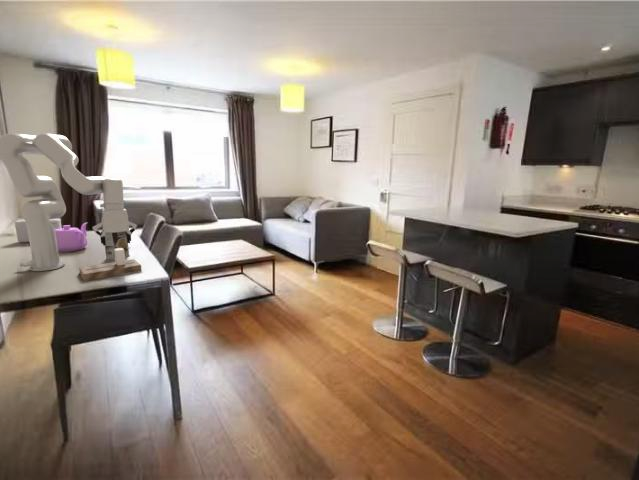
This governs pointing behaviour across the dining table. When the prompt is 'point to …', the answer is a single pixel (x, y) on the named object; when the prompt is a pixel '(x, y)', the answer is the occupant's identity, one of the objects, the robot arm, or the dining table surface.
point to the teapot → (71, 238)
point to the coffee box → (115, 244)
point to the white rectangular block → (119, 256)
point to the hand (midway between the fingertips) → (116, 243)
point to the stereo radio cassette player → (23, 232)
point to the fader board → (109, 270)
